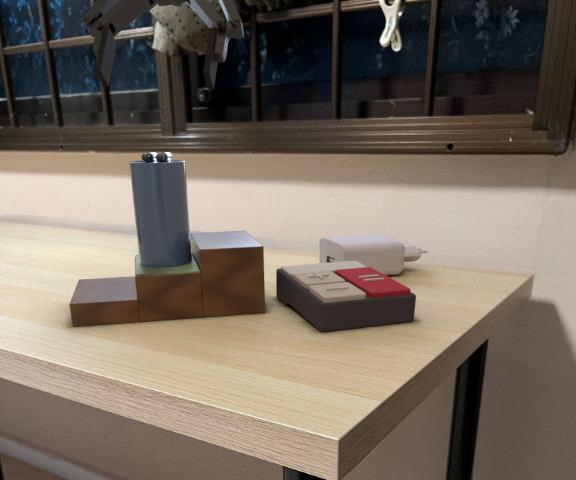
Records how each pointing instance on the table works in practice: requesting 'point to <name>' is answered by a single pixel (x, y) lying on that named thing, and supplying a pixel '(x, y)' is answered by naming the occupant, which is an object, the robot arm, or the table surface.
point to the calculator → (344, 295)
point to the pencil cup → (161, 210)
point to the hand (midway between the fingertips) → (154, 80)
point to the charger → (369, 252)
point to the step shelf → (180, 285)
